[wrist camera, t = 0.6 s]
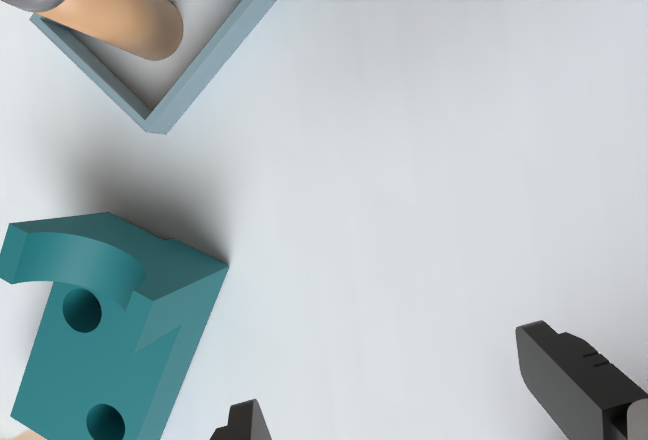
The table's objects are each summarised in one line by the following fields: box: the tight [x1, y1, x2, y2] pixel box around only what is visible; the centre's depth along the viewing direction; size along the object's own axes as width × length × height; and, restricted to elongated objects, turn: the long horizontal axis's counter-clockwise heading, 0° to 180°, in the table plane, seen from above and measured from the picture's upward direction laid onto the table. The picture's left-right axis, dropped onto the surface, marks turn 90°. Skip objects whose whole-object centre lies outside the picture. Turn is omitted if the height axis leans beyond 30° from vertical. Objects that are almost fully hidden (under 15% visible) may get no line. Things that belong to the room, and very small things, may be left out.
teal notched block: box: [0, 212, 229, 440], centre depth 33 cm, size 18×11×10 cm, turn 157°
